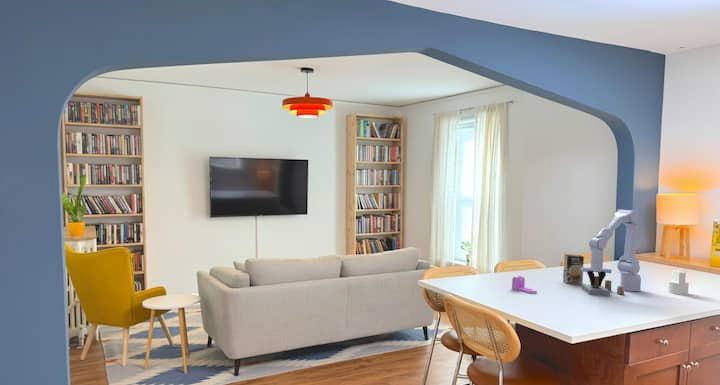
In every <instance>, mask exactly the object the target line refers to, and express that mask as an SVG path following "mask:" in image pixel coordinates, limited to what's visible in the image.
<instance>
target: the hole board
mask: <svg viewBox="0 0 720 385" xmlns="http://www.w3.org/2000/svg"><path fill="white" fill-rule="evenodd" d="M581 290H583V291H584V292H586V294H587V295H589V296H590V295H591V296H604V297H605V296H608V297H610V296H611V291H609V290H608V289H606V288H605V286H603V285H602V284H601V286H599V289H598V288H592V286H591V284H587V283H585V284H584V283H582V284H581Z"/></svg>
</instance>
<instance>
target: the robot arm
mask: <svg viewBox="0 0 720 385" xmlns="http://www.w3.org/2000/svg"><path fill="white" fill-rule="evenodd" d="M639 221H640V214H639V213H638V211H636V210H633V209H632V210H628V209H622V208H621V209H617V210H616V212H615V213H614V218H612V220H611V222H610V223H609V224H608V226H606V227H603V228H602V229H601V230H600V231H599V232H598V234H597V235H596V236H595V237H592V238H590V240H589V242H588V245H589V248H590V251H591V253H590V267H583V268H582V272H583V273H584V272H585V273H586V274H587V276H588V278H589V283H590V285H591V286H593V285H594V276H595V273H597V276H599V286H601V285H602V283H603V280H605V277H606V276H607V274H612V269H611V268H603V266H604V249H605V248H606V247H607V243H608V241H609V240H610V239H611V238H612V237H613V235H614V232H615V230H616V229H618V227H619V226H621V224H623V225H624V226H625V227H626V229H625V230H626V231H625V240H624V248H623V255H621V256H620V257H619V261H618V263H617V270H618V271H619V273H620V281H619V282H620V284H619V286H623V287H624V292H625V291H626V292H642V290H641V287H642V286H641V285H642V277H641V275H640V274H639V272H640V270H641V268H640V266H641V265H640V260H639V259H638V258H637V257H636V252H637V251H636V249H637V241H638V240H637V238H638V232H639V231H638V230H639Z"/></svg>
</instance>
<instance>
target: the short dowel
mask: <svg viewBox="0 0 720 385" xmlns="http://www.w3.org/2000/svg"><path fill="white" fill-rule="evenodd" d="M616 294H617V295H619V296H624V295H625V291H624V287H623V286H620V285H617V288H616Z"/></svg>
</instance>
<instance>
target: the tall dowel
mask: <svg viewBox="0 0 720 385" xmlns="http://www.w3.org/2000/svg"><path fill="white" fill-rule="evenodd" d="M592 288H598V289H599V276H598V275H594V285H593V286H592Z"/></svg>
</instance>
